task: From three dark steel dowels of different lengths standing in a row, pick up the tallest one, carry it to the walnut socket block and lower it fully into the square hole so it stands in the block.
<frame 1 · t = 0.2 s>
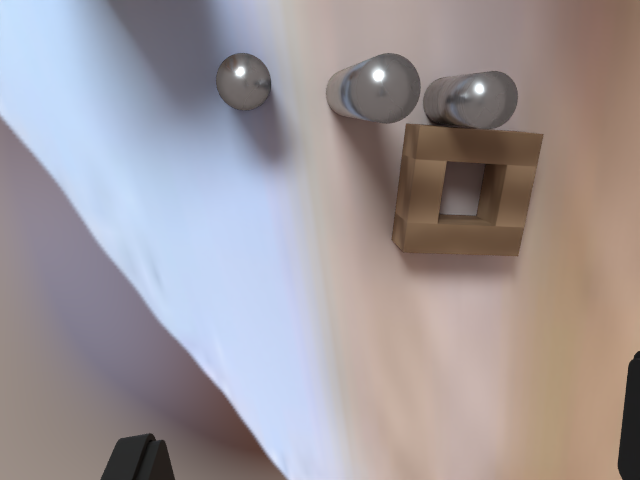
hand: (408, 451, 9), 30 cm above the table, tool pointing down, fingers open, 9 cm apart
long pin: (348, 93, 36), on the table
medium pin: (444, 100, 37), on the table
short pin: (246, 84, 35), on the table
socket block: (454, 186, 39), on the table
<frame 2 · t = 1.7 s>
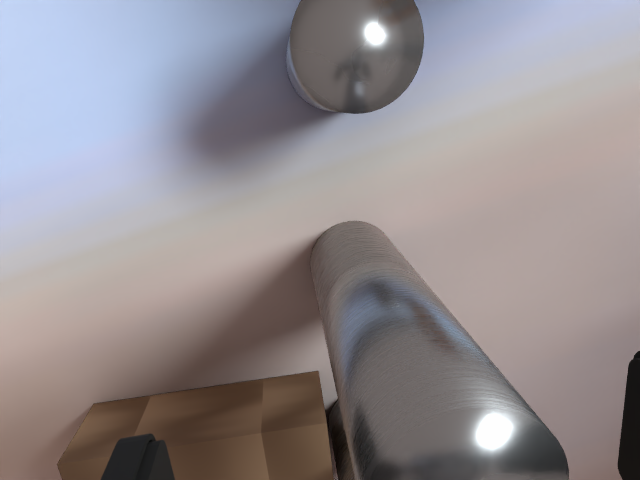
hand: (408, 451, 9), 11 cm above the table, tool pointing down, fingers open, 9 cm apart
long pin: (352, 262, 19), on the table
medium pin: (366, 418, 21), on the table
short pin: (334, 60, 17), on the table
socket block: (226, 475, 22), on the table
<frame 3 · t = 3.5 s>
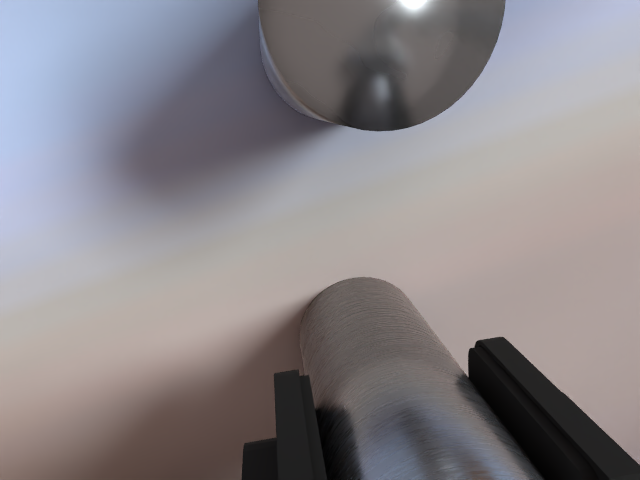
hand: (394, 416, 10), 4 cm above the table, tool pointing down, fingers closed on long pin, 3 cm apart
long pin: (359, 333, 13), on the table, touching gripper
short pin: (333, 46, 11), on the table
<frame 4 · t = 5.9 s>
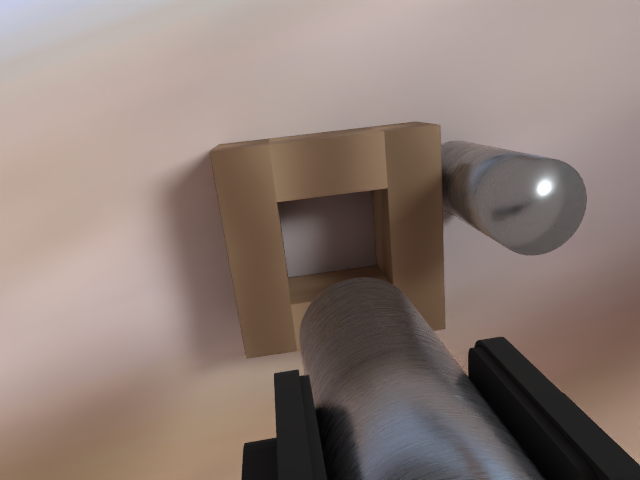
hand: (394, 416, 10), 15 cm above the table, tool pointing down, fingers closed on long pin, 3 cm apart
long pin: (359, 333, 13), point 11 cm above the table, touching gripper
medium pin: (454, 175, 24), on the table
socket block: (328, 228, 24), on the table
when the fingers open (4 cm above the table, at t = 8.3 s): long pin stays where it is, resting in socket block.
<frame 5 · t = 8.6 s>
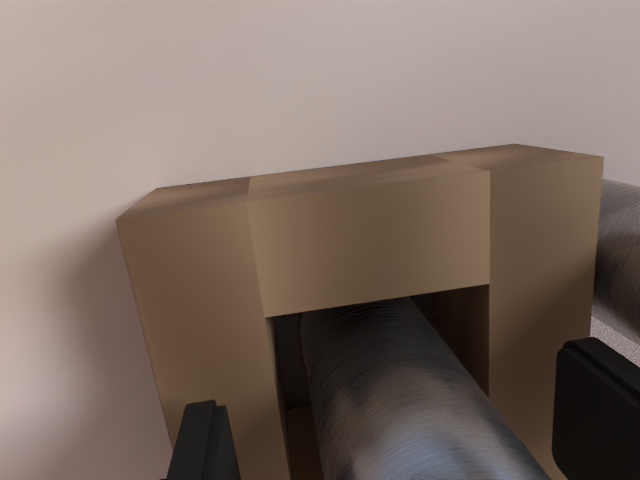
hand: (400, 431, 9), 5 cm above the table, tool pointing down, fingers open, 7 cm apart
long pin: (358, 326, 14), resting in socket block
medium pin: (574, 234, 14), on the table, touching gripper
socket block: (356, 327, 14), on the table
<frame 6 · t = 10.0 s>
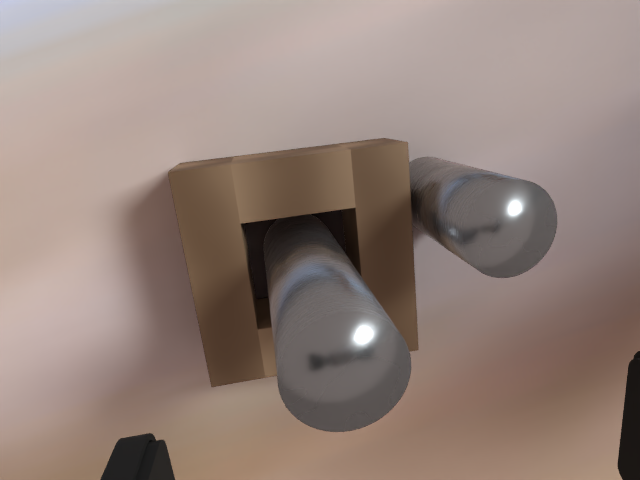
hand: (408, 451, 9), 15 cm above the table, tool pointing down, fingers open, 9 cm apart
long pin: (298, 246, 23), resting in socket block
medium pin: (424, 191, 24), on the table
socket block: (297, 247, 23), on the table
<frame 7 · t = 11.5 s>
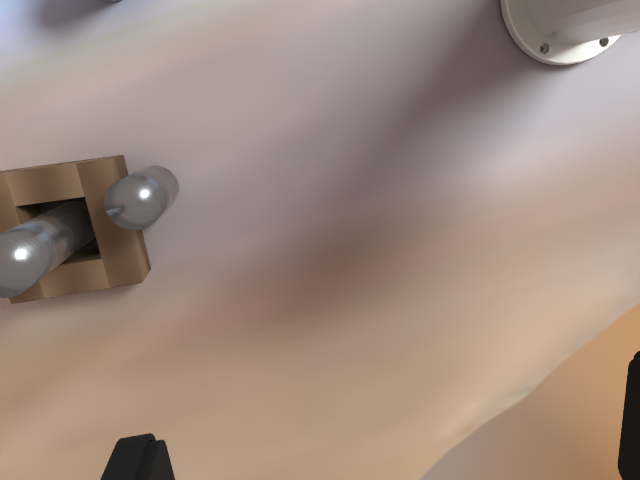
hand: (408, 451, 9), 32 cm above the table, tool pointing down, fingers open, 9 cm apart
long pin: (77, 222, 38), resting in socket block
medium pin: (156, 187, 38), on the table
socket block: (76, 222, 38), on the table
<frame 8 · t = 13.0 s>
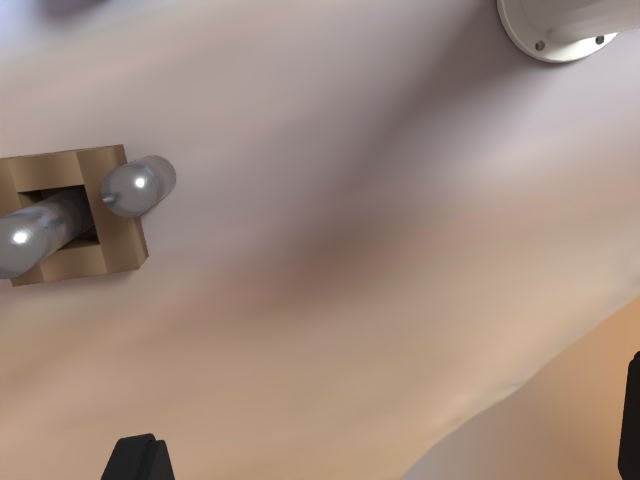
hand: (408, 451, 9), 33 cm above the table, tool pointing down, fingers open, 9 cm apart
long pin: (77, 209, 39), resting in socket block
medium pin: (154, 176, 39), on the table
socket block: (77, 209, 39), on the table
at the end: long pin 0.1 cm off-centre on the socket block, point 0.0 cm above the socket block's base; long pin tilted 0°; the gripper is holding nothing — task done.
